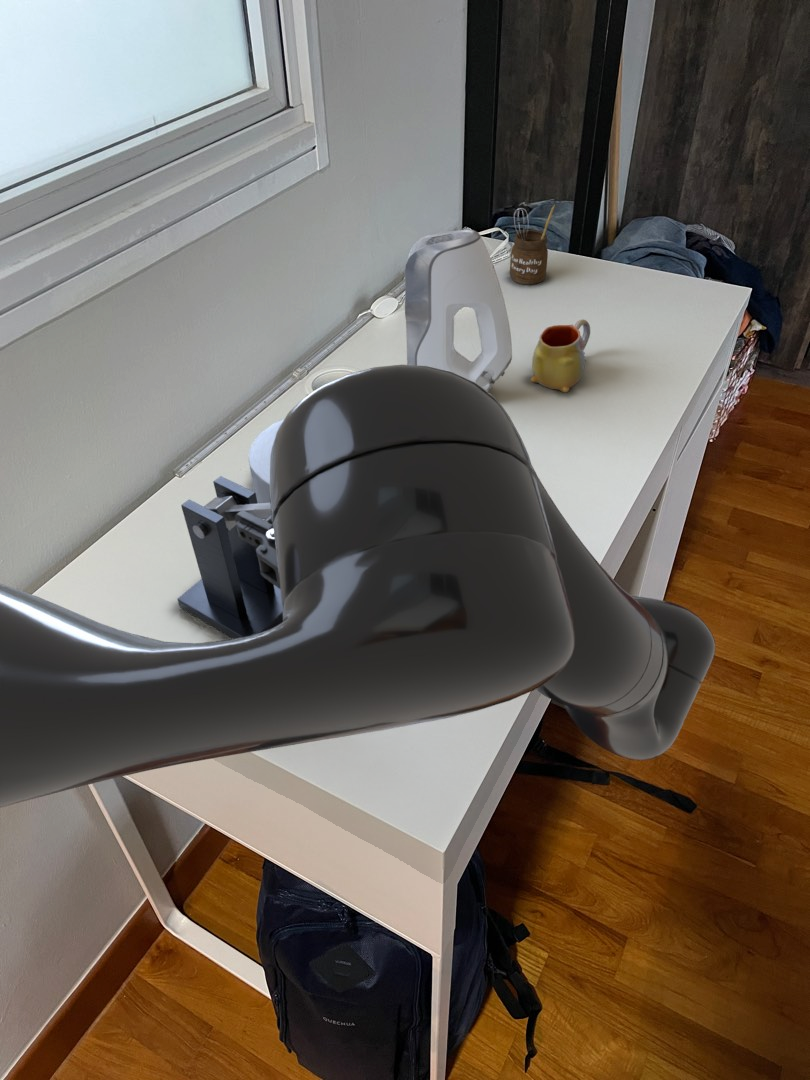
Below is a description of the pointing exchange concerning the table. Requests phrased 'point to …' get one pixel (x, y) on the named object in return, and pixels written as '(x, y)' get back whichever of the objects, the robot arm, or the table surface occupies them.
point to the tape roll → (262, 462)
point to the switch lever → (238, 510)
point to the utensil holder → (529, 255)
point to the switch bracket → (228, 572)
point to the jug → (455, 306)
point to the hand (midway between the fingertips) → (267, 499)
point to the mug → (560, 356)
